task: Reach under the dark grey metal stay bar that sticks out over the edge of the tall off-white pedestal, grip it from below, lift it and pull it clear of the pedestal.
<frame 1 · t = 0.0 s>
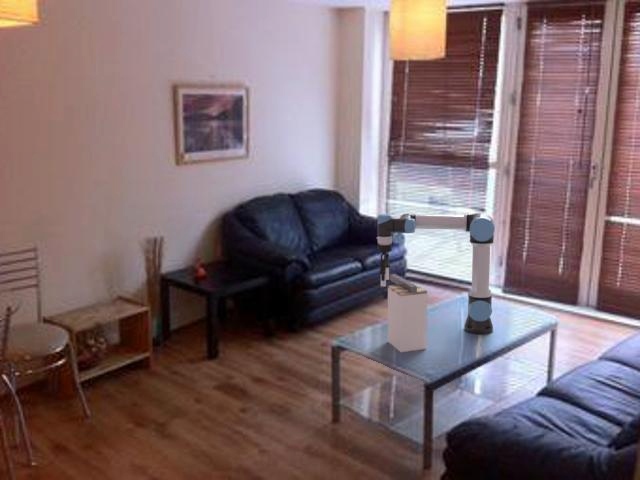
hand: (384, 282, 339), 28 cm above the table, tool pointing down, fingers open, 13 cm apart
metal bar: (402, 285, 324), point 30 cm above the table, touching pedestal
pedestal: (406, 345, 325), on the table
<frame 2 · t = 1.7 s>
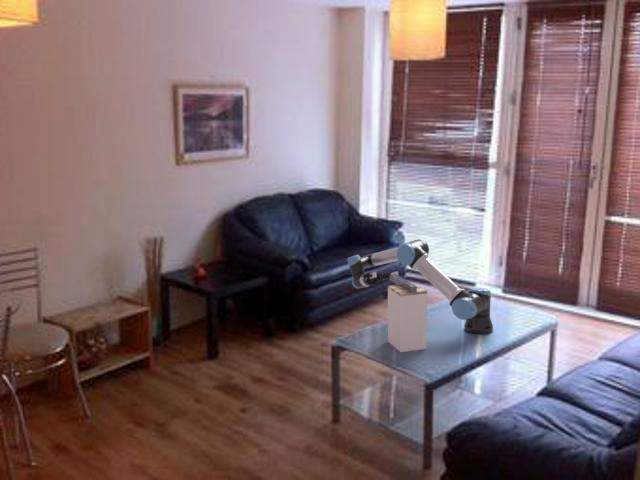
hand: (386, 274, 346), 30 cm above the table, tool pointing upward, fingers open, 13 cm apart
nothing on the table moved.
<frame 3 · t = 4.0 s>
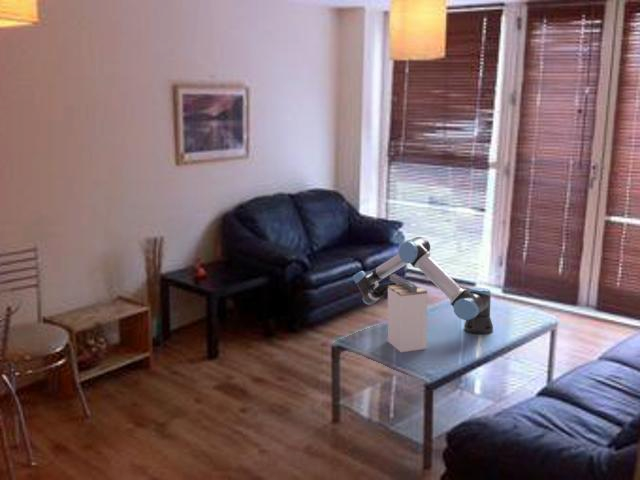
hand: (389, 281, 339), 28 cm above the table, tool pointing upward, fingers open, 13 cm apart
nothing on the table moved.
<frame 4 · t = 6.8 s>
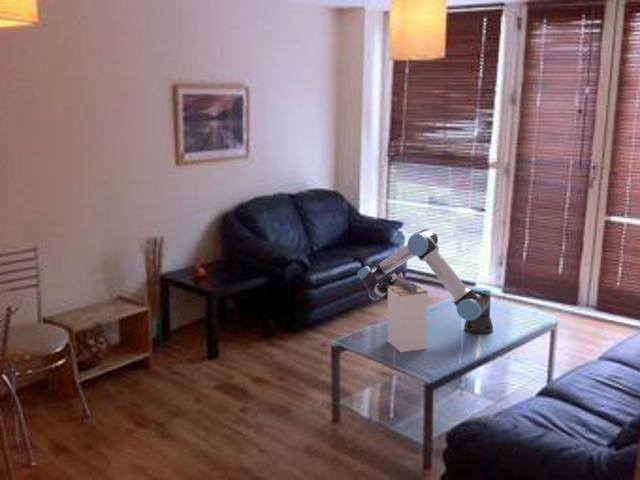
hand: (398, 275, 328), 34 cm above the table, tool pointing upward, fingers closed on metal bar, 3 cm apart
metal bar: (402, 285, 324), point 30 cm above the table, touching gripper, pedestal
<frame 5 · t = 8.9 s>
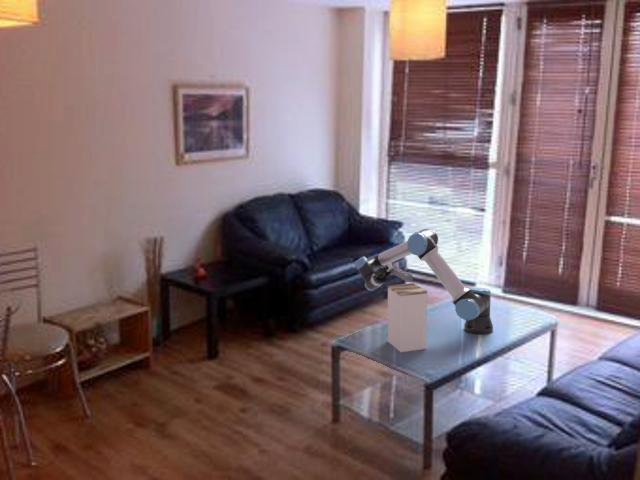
hand: (394, 265, 331), 39 cm above the table, tool pointing upward, fingers closed on metal bar, 3 cm apart
metal bar: (398, 275, 327), point 34 cm above the table, touching gripper
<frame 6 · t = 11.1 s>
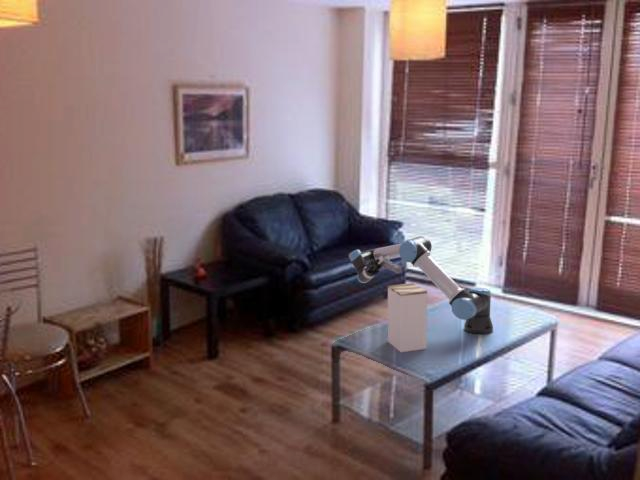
hand: (385, 257, 343), 40 cm above the table, tool pointing upward, fingers closed on metal bar, 3 cm apart
metal bar: (389, 267, 338), point 36 cm above the table, touching gripper
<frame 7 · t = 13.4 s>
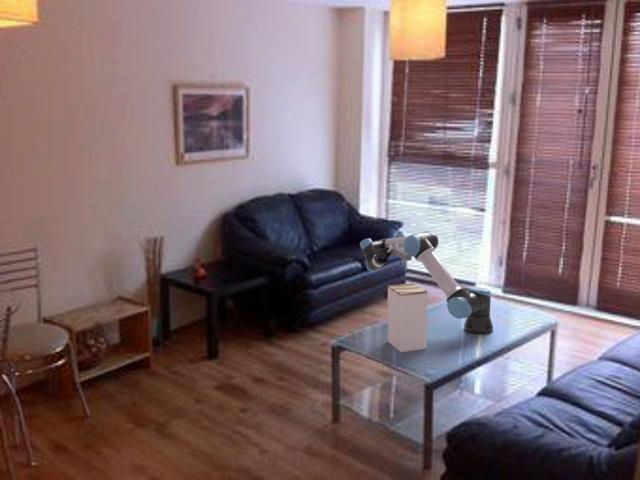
hand: (394, 246, 349), 45 cm above the table, tool pointing upward, fingers closed on metal bar, 3 cm apart
metal bar: (398, 255, 345), point 40 cm above the table, touching gripper
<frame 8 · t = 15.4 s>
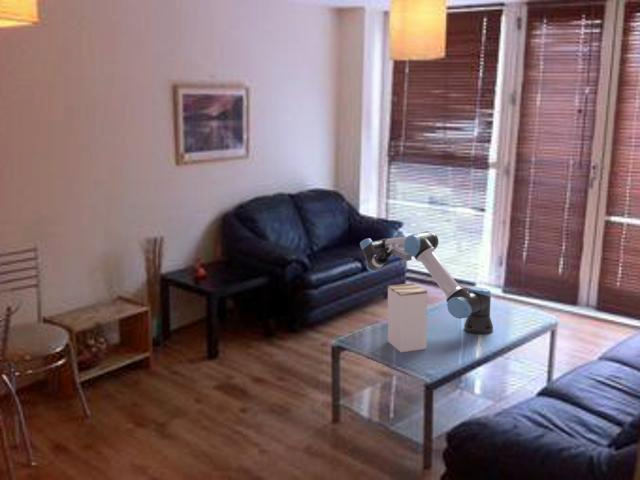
hand: (394, 246, 349), 45 cm above the table, tool pointing upward, fingers closed on metal bar, 3 cm apart
metal bar: (398, 255, 345), point 40 cm above the table, touching gripper
at the end: the gripper is holding metal bar; metal bar touching gripper; metal bar moved 25.7 cm from its start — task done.
